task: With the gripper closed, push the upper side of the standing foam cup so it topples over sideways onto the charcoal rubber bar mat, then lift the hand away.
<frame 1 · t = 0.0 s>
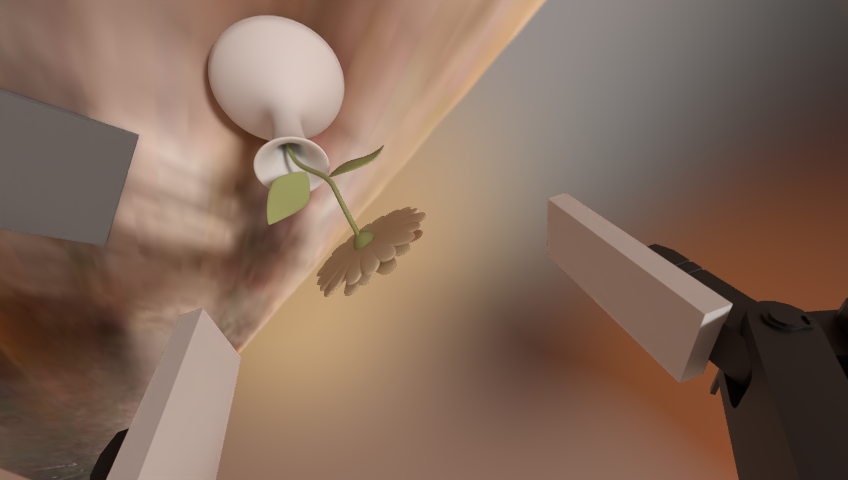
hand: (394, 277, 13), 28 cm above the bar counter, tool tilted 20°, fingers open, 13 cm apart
bar mat: (21, 171, 32), on the bar counter
flower in vase: (288, 74, 33), on the bar counter
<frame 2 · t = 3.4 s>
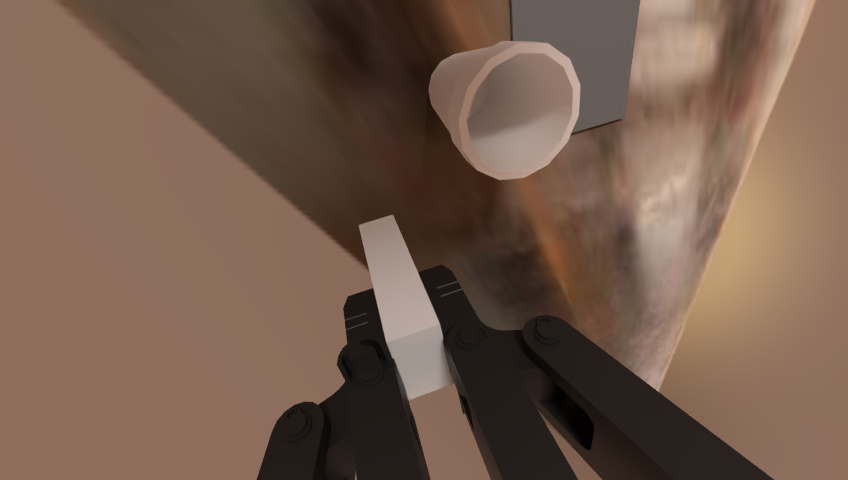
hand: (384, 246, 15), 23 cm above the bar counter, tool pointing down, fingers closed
bar mat: (573, 58, 37), on the bar counter
foam cup: (457, 88, 36), on the bar counter
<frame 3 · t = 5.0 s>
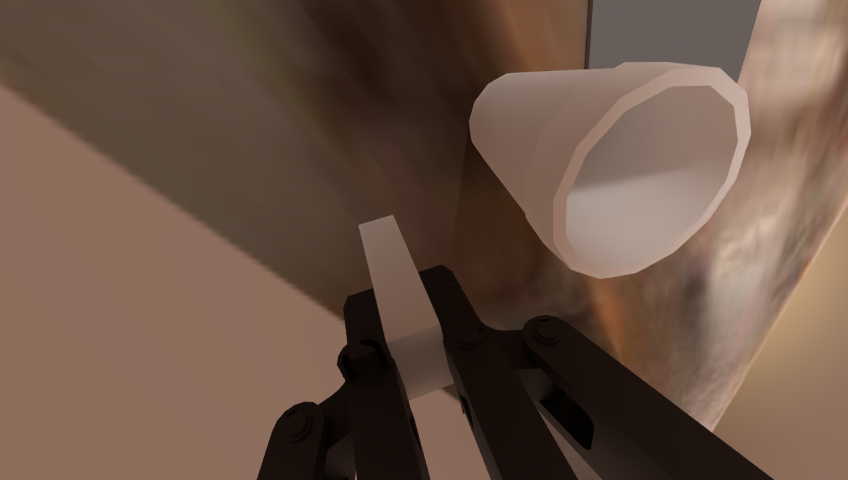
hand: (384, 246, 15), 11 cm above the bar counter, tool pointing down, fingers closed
bar mat: (664, 75, 27), on the bar counter
foam cup: (508, 119, 26), on the bar counter
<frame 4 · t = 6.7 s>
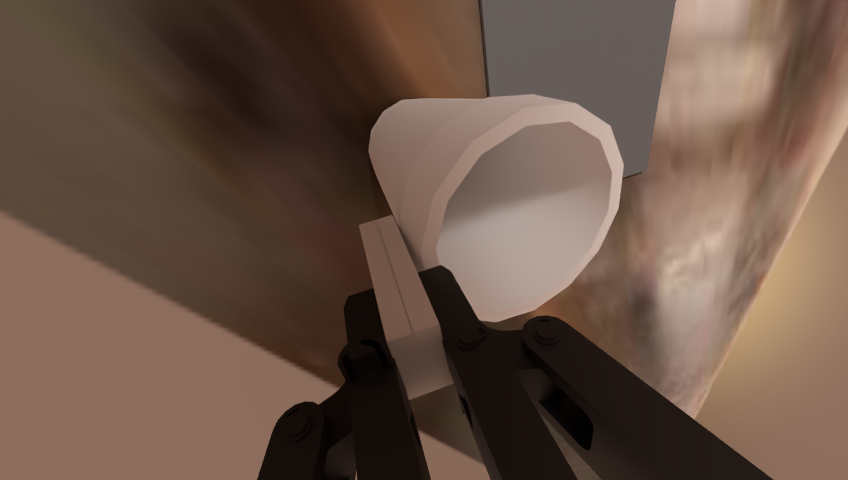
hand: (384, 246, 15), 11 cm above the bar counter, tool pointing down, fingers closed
bar mat: (576, 96, 26), on the bar counter
foam cup: (411, 145, 25), on the bar counter, touching gripper
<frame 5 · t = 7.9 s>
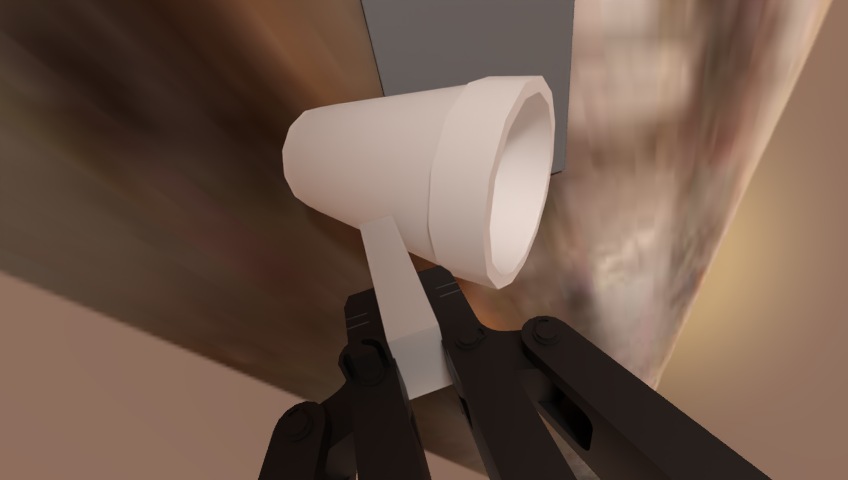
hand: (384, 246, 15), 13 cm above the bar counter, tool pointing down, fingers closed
bar mat: (481, 96, 26), on the bar counter
foam cup: (322, 159, 23), point 3 cm above the bar counter, touching gripper
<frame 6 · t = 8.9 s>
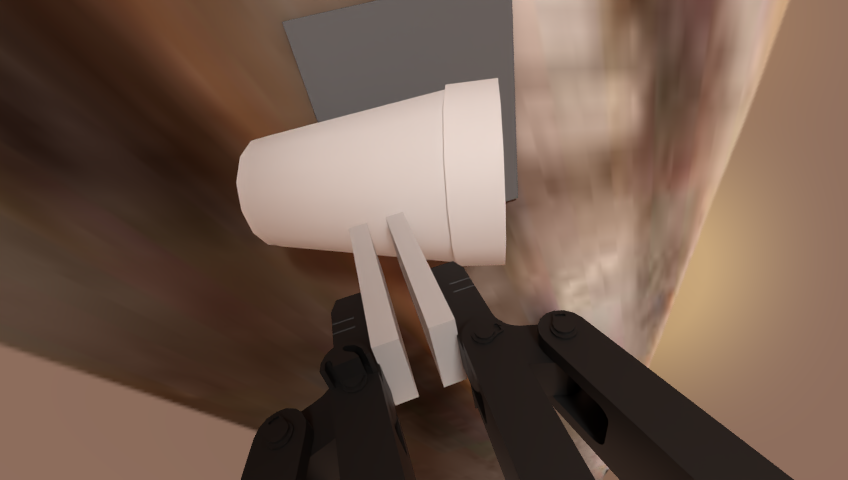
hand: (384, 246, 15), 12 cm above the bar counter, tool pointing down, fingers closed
bar mat: (424, 127, 25), on the bar counter
foam cup: (271, 192, 21), point 4 cm above the bar counter, touching gripper
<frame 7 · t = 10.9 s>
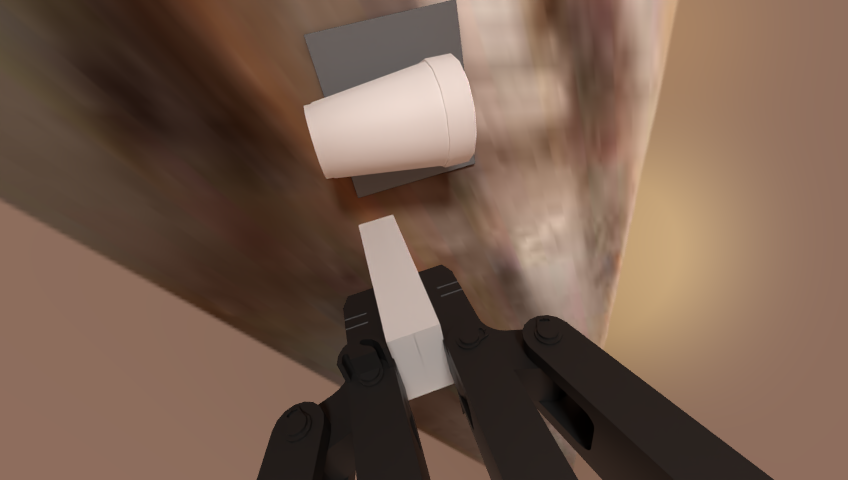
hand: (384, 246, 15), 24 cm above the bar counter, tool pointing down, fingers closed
bar mat: (401, 107, 36), on the bar counter
foam cup: (313, 143, 31), point 5 cm above the bar counter, touching bar mat
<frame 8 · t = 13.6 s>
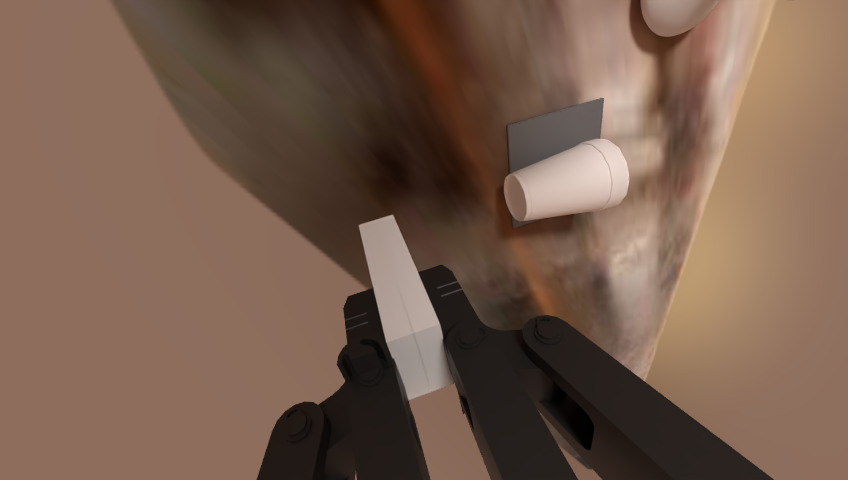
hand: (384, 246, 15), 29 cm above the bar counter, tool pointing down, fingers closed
bar mat: (553, 167, 51), on the bar counter
foam cup: (513, 198, 46), point 5 cm above the bar counter, touching bar mat
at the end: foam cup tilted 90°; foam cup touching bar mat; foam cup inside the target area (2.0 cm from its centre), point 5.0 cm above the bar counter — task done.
